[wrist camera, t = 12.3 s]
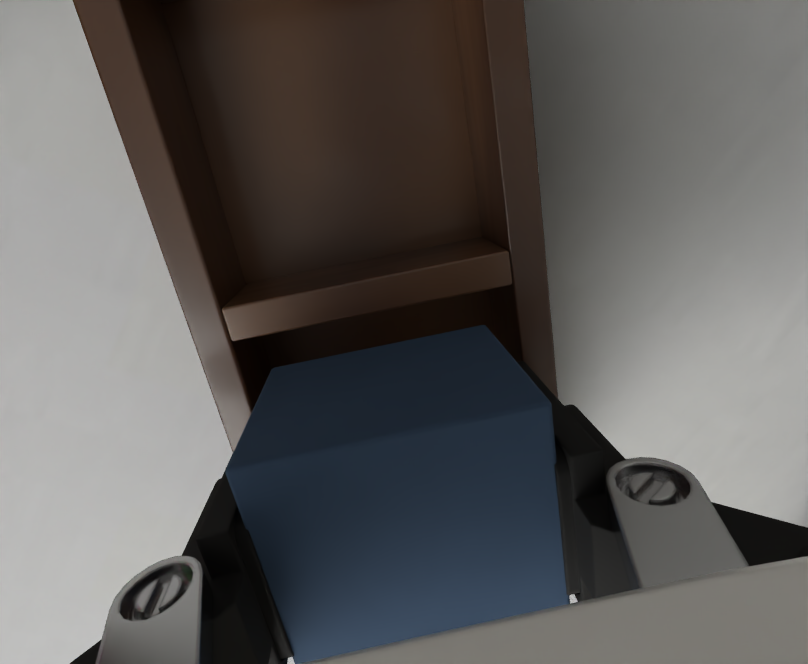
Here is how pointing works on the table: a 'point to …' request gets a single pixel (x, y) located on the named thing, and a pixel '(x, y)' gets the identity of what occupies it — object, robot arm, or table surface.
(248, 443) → the blue block
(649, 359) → the table surface
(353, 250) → the brown wooden tray
